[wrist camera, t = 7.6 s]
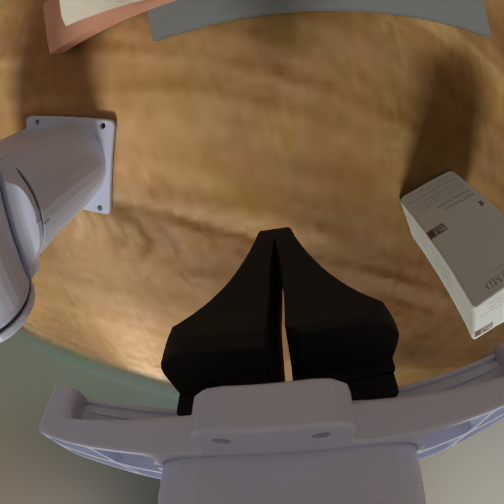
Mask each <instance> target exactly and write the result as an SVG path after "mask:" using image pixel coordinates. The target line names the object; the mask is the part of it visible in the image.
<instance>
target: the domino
mask: <svg viewBox="0 0 504 504" xmlns="http://www.w3.org/2000/svg"><path fill="white" fill-rule="evenodd" d="M138 1H142V0H59V2H60V9H61V16H62V19H63V21H64V23H65V25H66V26H68V25H70V24H72V23H75V22H77V21H80V20H82V19H85V18H87V17H90V16H93V15H95V14H98V13H101V12H104V11H107V10H110V9H113V8H117V7H120V6H123V5H127V4H131V3H134V2H138Z"/></svg>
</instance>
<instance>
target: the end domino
mask: <svg viewBox="0 0 504 504" xmlns="http://www.w3.org/2000/svg"><path fill="white" fill-rule="evenodd" d="M173 1H176V0H142V1H138V2H134V3H131V4H127V5H123V6H120V7H117V8H113V9H110V10H107V11H104V12H101V13H98V14H95V15H93V16H90V17H87V18H85V19H82V20H80V21H77V22H75V23H72V24H70V25H68V26H66V25H65V23H64V21H63V19H62V16H61V9H60V2H59V0H47V1H46V2H45V3H43V12H44V21H45V28H46V35H47V41H48V47H49V53H50V54H63V53H64V52H66V51H67V50H69V49H71V48H72V47H74V46H76V45H77V44H79V43H81V42H82V41H84V40H86V39H88V38H90V37H91V36H93V35H95V34H97V33H99V32H101V31H103V30H105V29H107V28H109V27H111V26H113V25H115V24H117V23H119V22H121V21H124V20H126V19H128V18H130V17H133V16H135V15H138V14H140V13H143V12H145V11H148V10H150V9H153V8H156V7H158V6H161V5H164V4H167V3H170V2H173Z"/></svg>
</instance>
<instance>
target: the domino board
mask: <svg viewBox="0 0 504 504" xmlns="http://www.w3.org/2000/svg"><path fill="white" fill-rule="evenodd" d="M309 11H355V12H371V13H382V14H391V15H399V16H406V17H412V18H418V19H423V20H428V21H433V22H437V23H442V24H446V25H450V26H454V27H457V28H461V29H464V30H468V31H471V32H474V33H477V34H480V35H483V36H491V34H490V28H489V23H488V19H487V14H486V10H485V6H484V2H483V0H176V1H173V2H170V3H167V4H164V5H161V6H158V7H156V8H153V9H150V10H148V11H147V14H148V19H149V23H150V28H151V33H152V37H153V40H155V41H159V40H162V39H165V38H168V37H171V36H174V35H178V34H181V33H184V32H188V31H191V30H195V29H199V28H202V27H206V26H210V25H215V24H219V23H224V22H229V21H234V20H239V19H245V18H251V17H257V16H264V15H272V14H282V13H293V12H309Z"/></svg>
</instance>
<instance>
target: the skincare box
mask: <svg viewBox="0 0 504 504" xmlns="http://www.w3.org/2000/svg"><path fill="white" fill-rule="evenodd" d="M400 202H401V205H402V208H403V210H404V213H405V216H406V219H407V222H408V225H409V228H410V231H411V234H412V236H413V238H414V239H415V240H416V242H417V243H418V245H419V246H420V248H421V249H422V251H423V252H424V254H425V255H426V257H427V258H428V260H429V261H430V263H431V264H432V266H433V268H434V269H435V271H436V272H437V274H438V276H439V277H440V279H441V281H442V282H443V284H444V286H445V287H446V289H447V291H448V293H449V294H450V296H451V298H452V300H453V301H454V303H455V305H456V307H457V309H458V311H459V312H460V314H461V316H462V318H463V320H464V322H465V324H466V326H467V328H468V330H469V333H470V335H471V337H472V338H473V339H476V338H478V337H479V336H481V335H483V334H484V333H486V332H487V331H489V330H490V329H492V328H494V327H495V326H497V325H499V324H501V323H503V322H504V214H503V213H502V212H501V211H500V210H499V209H497V208H496V207H495V206H494V205H493V204H492V203H491V202H490V201H489V200H488V199H486V198H485V197H484V196H483V195H482V194H480V193H479V192H478V191H477V190H476V189H475V188H473V187H472V186H471V185H470V184H468V183H467V182H466V181H465V180H463V179H462V178H461V177H460V176H458V175H457V174H456V173H454V172H453V171H448V172H446V173H444V174H442V175H440V176H438V177H436V178H434V179H433V180H431V181H429V182H427V183H425V184H423V185H422V186H420V187H418V188H417V189H415V190H413V191H411V192H410V193H408V194H406V195H405V196H403V197H402V198H401V200H400Z"/></svg>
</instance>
